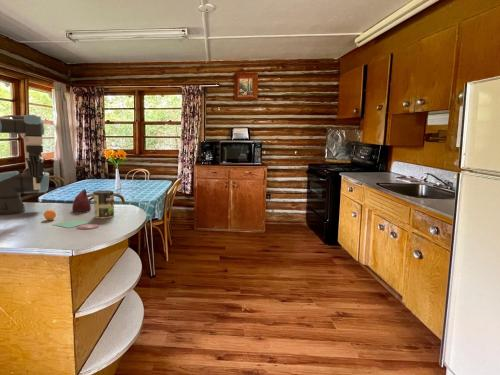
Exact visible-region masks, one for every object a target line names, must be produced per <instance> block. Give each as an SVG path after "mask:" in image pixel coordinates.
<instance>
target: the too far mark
mask: <svg viewBox="0 0 500 375" xmlns="http://www.w3.org/2000/svg"><path fill="white" fill-rule="evenodd" d="M99 227H100V225H99V224H94V223H93V224H92V223H88V224H84V225H80V226H76V229H77V230H82V231H86V230H94V229H98V228H99Z"/></svg>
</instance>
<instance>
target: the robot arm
mask: <svg viewBox="0 0 500 375" xmlns="http://www.w3.org/2000/svg"><path fill="white" fill-rule="evenodd" d="M0 134H13V135H20V137H21V138H22V140H23V148H24V161H25V169H24V170H23V171H22V173H20V171H18V170H12V171H11V170H10V171H3V172H0V215H1V216H2V215H3V216H5V215H6V216H7V215H15V214H20V213H25V211H26V207H25V206H26V205H25V204H24V202H23V200H22V198H21V194H35V193H46V192H48V190H49V184H50V181H49V180H50V173H49V172H47V170H46V168H45V167H44V165H45V161H46V158H43V157H42V153H44V145H43V144H44V143H43V135H45V125H44V122H43V119H42V117H41V116H40V115H37V114H25V115H17V114H10V115H3V116H0Z"/></svg>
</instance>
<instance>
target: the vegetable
mask: <svg viewBox="0 0 500 375" xmlns="http://www.w3.org/2000/svg"><path fill="white" fill-rule="evenodd" d="M71 207H72V208H71V209H72V212H73V213H80V212H81V213H87V211H88V212H90V210H92V206H91V201H90V200H89V198H88V194H87V190H86V188H83V189H82V190H81V192H79V193H78V194H76V196H75V198H74V200H73V202H72V206H71Z"/></svg>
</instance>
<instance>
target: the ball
mask: <svg viewBox="0 0 500 375" xmlns="http://www.w3.org/2000/svg"><path fill="white" fill-rule="evenodd" d="M56 216H57V213H56V211H55V210H54V209H47V210H45V212H44V213H43V217H44V219H45V220H47V221H52V220H54V219H56Z"/></svg>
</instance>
